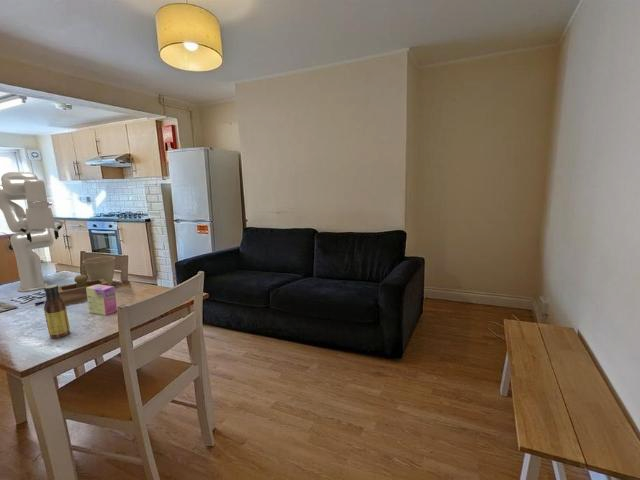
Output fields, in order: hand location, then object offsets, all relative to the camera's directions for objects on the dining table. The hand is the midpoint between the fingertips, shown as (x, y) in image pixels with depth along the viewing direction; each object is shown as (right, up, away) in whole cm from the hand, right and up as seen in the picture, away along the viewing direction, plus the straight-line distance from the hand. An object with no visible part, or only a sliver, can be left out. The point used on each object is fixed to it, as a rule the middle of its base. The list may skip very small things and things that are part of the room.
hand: (43, 240), depth 156 cm
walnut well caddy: (+16, -30, +5) cm, 34 cm away
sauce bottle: (+36, -37, -35) cm, 62 cm away
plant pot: (+13, -27, +23) cm, 38 cm away
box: (+38, -33, -12) cm, 51 cm away
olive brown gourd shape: (+16, -29, +5) cm, 33 cm away
